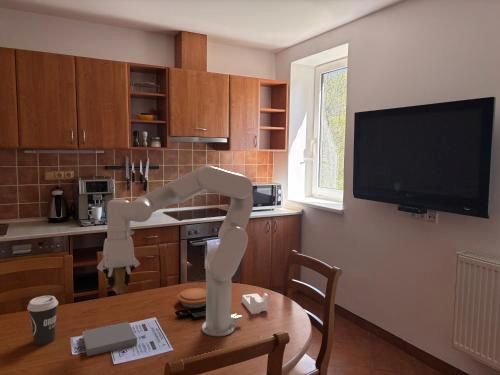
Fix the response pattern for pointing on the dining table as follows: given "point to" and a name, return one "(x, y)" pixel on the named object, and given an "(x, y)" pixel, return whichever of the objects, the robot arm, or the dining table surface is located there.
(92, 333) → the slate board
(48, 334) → the coffee cup
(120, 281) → the rock
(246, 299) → the bracket
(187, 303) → the pie
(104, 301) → the dining table surface
